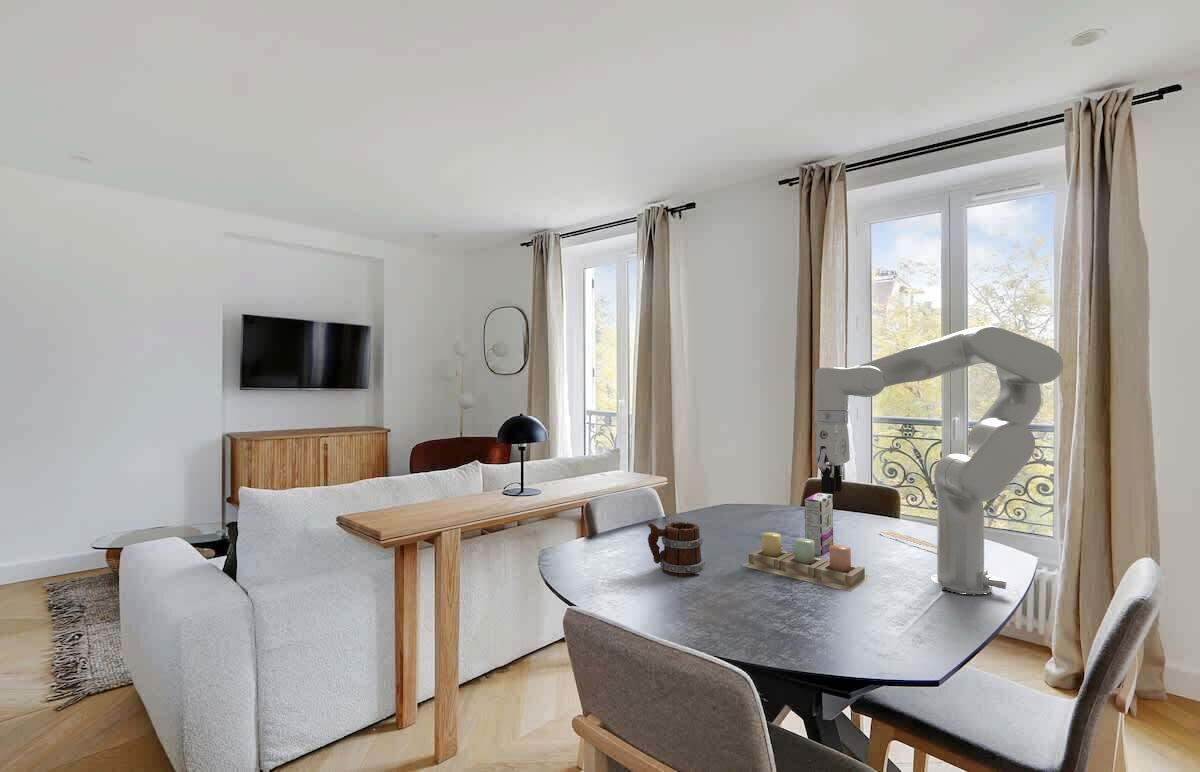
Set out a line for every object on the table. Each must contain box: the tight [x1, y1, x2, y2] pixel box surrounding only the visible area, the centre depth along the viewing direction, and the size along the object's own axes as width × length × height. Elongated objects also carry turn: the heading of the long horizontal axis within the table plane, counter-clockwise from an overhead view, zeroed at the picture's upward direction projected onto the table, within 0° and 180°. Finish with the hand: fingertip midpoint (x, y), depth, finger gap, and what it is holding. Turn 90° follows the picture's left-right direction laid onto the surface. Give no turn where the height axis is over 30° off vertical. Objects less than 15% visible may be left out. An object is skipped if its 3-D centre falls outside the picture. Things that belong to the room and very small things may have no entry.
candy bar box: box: [804, 492, 834, 556], centre depth 169 cm, size 11×5×16 cm, turn 143°
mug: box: [647, 521, 706, 578], centre depth 154 cm, size 12×14×15 cm
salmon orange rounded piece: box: [828, 544, 852, 571], centre depth 144 cm, size 5×5×5 cm
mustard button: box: [761, 531, 782, 556], centre depth 156 cm, size 5×5×5 cm
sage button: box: [793, 537, 815, 563], centre depth 150 cm, size 5×5×5 cm
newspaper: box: [878, 529, 937, 549], centre depth 179 cm, size 24×7×2 cm, turn 17°
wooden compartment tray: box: [741, 547, 872, 592], centre depth 150 cm, size 28×14×4 cm, turn 47°
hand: (831, 491), depth 145 cm, fingers open, 3 cm apart
